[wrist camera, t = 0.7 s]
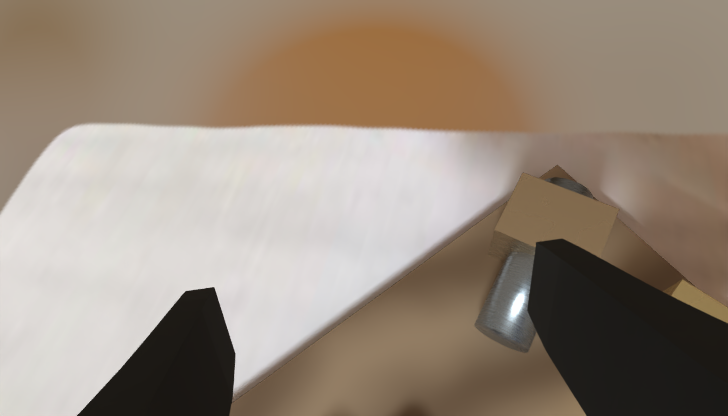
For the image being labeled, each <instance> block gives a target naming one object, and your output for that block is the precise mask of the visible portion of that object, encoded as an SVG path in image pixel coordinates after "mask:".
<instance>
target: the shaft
mask: <svg viewBox="0 0 728 416" xmlns="http://www.w3.org/2000/svg"><path fill="white" fill-rule="evenodd" d="M618 211H619V209H618V208H615V207H612V206H610V205H607V204H605V203H602V202H599V201H597V200H594V199H593V196H592V194H591V192H590V191H589V190H588V189H587V188H586V187H584V186H583V185H581V184H579V183H577V182H575V181H572V180H569V179H565V178H559V177H553V178H548V179H545V180H542V179H539V178H536V177H534V176H531V175H528V174H526V173H522V175H521V177H520V179H519V181H518V183H517V185H516V187H515V189H514V191H513V193H512V195H511V197H510V199H509V201H508V203H507V205H506V207H505V209H504V211H503V213H502V215H501V217H500V219H499V221H498V223H497V225H496V227H495V229H494V233H493V237H492V241H491V245H490V248H489V252H488V256H491V257H493V258H495V259H497V260H499V261H502V262H504V263H503V265H502V267H501V269H500V272H499V274H498V276H497V278H496V280H495V282H494V284H493V286H492V288H491V290H490V292H489V294H488V297H487V299H486V301H485V303H484V305H483V307H482V309H481V311H480V313H479V315H478V317H477V320H476V322H475V324H474V326H475V327H476V328H477V329H478V330H479V331H480V332H481V333H483V334H484V335H486V336H487V337H489V338H490V339H492V340H494V341H496V342H498V343H500V344H502V345H504V346H506V347H508V348H510V349H513V350H516V351H519V352H523V353H527V352H528V351H529V349H530V347H531V344H532V342H533V340H534V337H535V335H536V333H537V331H536V329H535V327H534V325H533V322H532V320H531V318H530V316H529V313H528V311H527V308H528V300H529V293H530V285H531V278H532V270H533V262H534V255H535V247H536V242H540V241H547V240H554V239H565V240H567V241H569V242H571V243H573V244H575V245H577V246H579V247H581V248H583V249H585V250H586V251H588V252H590V253H592V254H594V255H596V256H597V257H599V258H600V256H601V253H602V251H603V248H604V246H605V243H606V241H607V239H608V236H609V234H610V231H611V229H612V226H613V224H614V221H615V219H616V216H617V214H618Z"/></svg>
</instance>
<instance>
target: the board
mask: <svg viewBox="0 0 728 416" xmlns="http://www.w3.org/2000/svg"><path fill="white" fill-rule="evenodd" d="M553 177H559V178H565V179H569V180H572V181H575V180H574V179H573V178H572V177H571V176H570V175H568V174H567V173H566V172H565V171H564V170H563V169H562V168H560V167H559V166H558V165H556V166H555V167H554V168H552V169H551V170H549V171H548V172H547V173H545V174H544V175H543V176H541V177H540V178H539V179H542V180H545V179H548V178H553ZM575 182H576V181H575ZM593 199H594V200H597V199H596V198H594V197H593ZM597 201H598V200H597ZM507 203H508V201H507V202H506V203H504V204H503V205H502V206H500V207H499V208H498V209H496V210H495V211H494V212H492V213H491V214H489V215H488V216H487V217H485V218H484V219H483V220H481V221H480V222H479V223H477V224H476V225H474V226H473V227H472V228H470V229H469V230H468V231H466V232H465V233H464V234H462V235H461V236H459V237H458V238H457V239H455V240H454V241H453V242H451V243H450V244H449V245H447V246H446V247H444V248H443V249H442V250H440V251H439V252H438V253H436V254H435V255H434V256H432V257H431V258H429V259H428V260H427V261H425V262H424V263H423V264H421V265H420V266H419V267H417V268H416V269H414V270H413V271H412V272H410V273H409V274H408V275H406V276H405V277H404V278H402V279H401V280H399V281H398V282H397V283H395V284H394V285H393V286H391V287H390V288H389V289H387V290H386V291H384V292H383V293H382V294H380V295H379V296H378V297H376V298H375V299H374V300H372V301H371V302H369V303H368V304H367V305H365V306H364V307H363V308H361V309H360V310H359V311H357V312H356V313H354V314H353V315H352V316H350V317H349V318H348V319H346V320H345V321H344V322H342V323H341V324H339V325H338V326H337V327H335V328H334V329H333V330H331V331H330V332H329V333H327V334H326V335H324V336H323V337H322V338H320V339H319V340H318V341H316V342H315V343H314V344H312V345H311V346H309V347H308V348H307V349H305V350H304V351H303V352H301V353H300V354H299V355H297V356H296V357H294V358H293V359H292V360H290V361H289V362H288V363H286V364H285V365H284V366H282V367H281V368H279V369H278V370H277V371H275V372H274V373H273V374H271V375H270V376H268V377H267V378H266V379H264V380H263V381H262V382H260V383H259V384H258V385H256V386H255V387H253V388H252V389H251V390H249V391H248V392H247V393H245V394H244V395H243V396H241V397H240V398H238V399H237V400H236V401H234V402H233V403H232V404H231V409H230V415H229V416H586V414H585V413H584V411H583V409H582V408H581V406H580V405H579V403H578V401H577V400H576V398H575V397H574V395H573V394H572V392H571V390H570V389H569V387H568V386H567V384H566V383H565V381H564V379H563V378H562V376H561V375H560V373H559V371H558V370H557V368H556V367H555V365H554V363H553V362H552V360H551V358H550V357H549V355H548V353H547V352H546V350H545V348H544V346H543V344H542V342H541V340H540V338H539V336H538V334H537V333H536V335H535V337H534V340H533V342H532V344H531V347H530V349H529V351H528V352H527V353H523V352H519V351H516V350H513V349H510V348H508V347H506V346H504V345H502V344H500V343H498V342H496V341H494V340H492V339H490V338H489V337H487V336H486V335H484V334H483V333H481V332H480V331H479V330H478V329H477V328H476V327H475V326H474V324H475V322H476V320H477V317H478V315H479V313H480V311H481V309H482V307H483V305H484V303H485V301H486V299H487V297H488V294H489V292H490V290H491V288H492V286H493V284H494V282H495V280H496V278H497V276H498V274H499V272H500V269H501V267H502V265H503V263H504V262H502V261H499V260H497V259H495V258H493V257H491V256H488V252H489V248H490V245H491V241H492V237H493V233H494V229H495V227H496V225H497V223H498V221H499V219H500V217H501V215H502V213H503V211H504V209H505V207H506V205H507ZM600 258H601V259H603V260H605V261H607V262H608V263H610V264H612V265H614V266H616V267H618V268H619V269H621V270H623V271H625V272H627V273H629V274H630V275H632V276H634V277H636V278H638V279H640V280H642V281H643V282H645V283H647V284H649V285H651V286H653V287H655V288H657V289H659V290H661V291H662V292H663V291H664V290H666V289H668V288H669V287H671V286H672V285H674V284H676V283H677V282H679V281H681V280H682V279H683V280H685V281H686V282H688V283H689V284H691V285H693V284H692V283H690V282H689V281H688V280H687V279H686V278H685V277H684V276H683V275H681V274H680V273H679V272H678V271H677V270H676V269H675V268H673V267H672V266H671V265H670V264H669V263H668V262H667V261H666V260H664V259H663V258H662V257H661V256H660V255H659V254H658V253H657V252H655V251H654V250H653V249H652V248H651V247H650V246H649V245H648V244H646V243H645V242H644V241H643V240H642V239H641V238H640V237H638V236H637V235H636V234H635V233H634V232H633V231H632V230H631V229H629V228H628V227H627V226H626V225H625V224H624V223H623V222H622V221H620V220H619V219H618V218H617V217H616V219H615V221H614V224H613V226H612V229H611V231H610V234H609V236H608V239H607V241H606V243H605V246H604V248H603V251H602V253H601V256H600ZM693 286H694V285H693ZM694 287H695V286H694Z"/></svg>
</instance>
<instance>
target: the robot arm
mask: <svg viewBox="0 0 728 416" xmlns="http://www.w3.org/2000/svg"><path fill="white" fill-rule="evenodd" d="M527 311H528V313H529V316H530V318H531V320H532V322H533V325H534V327H535V329H536V331H537V334H538V336H539V338H540V340H541V342H542V344H543V346H544V348H545V350H546V352H547V353H548V355H549V357H550V358H551V360H552V362H553V363H554V365H555V367H556V368H557V370H558V371H559V373H560V375H561V376H562V378H563V379H564V381H565V383H566V384H567V386H568V387H569V389H570V390H571V392H572V394H573V395H574V397H575V398H576V400H577V401H578V403H579V405H580V406H581V408H582V409H583V411H584V413H585V414H586V416H728V323H727V322H724V321H722V320H720V319H718V318H716V317H713V316H711V315H709V314H707V313H705V312H703V311H701V310H699V309H697V308H695V307H693V306H691V305H688V304H686V303H684V302H682V301H680V300H678V299H676V298H674V297H672V296H670V295H668V294H666V293H664V292H662V291H661V290H659V289H657V288H655V287H653V286H651V285H649V284H647V283H645V282H643V281H642V280H640V279H638V278H636V277H634V276H632V275H630V274H629V273H627V272H625V271H623V270H621V269H619V268H618V267H616V266H614V265H612V264H610V263H608V262H607V261H605V260H603V259H601V258H599V257H597V256H596V255H594V254H592V253H590V252H588V251H586V250H585V249H583V248H581V247H579V246H577V245H575V244H573V243H571V242H569V241H567V240H565V239H554V240H547V241H540V242H536V247H535V255H534V262H533V270H532V278H531V285H530V293H529V300H528V308H527ZM234 370H235V351H234V348H233V345H232V342H231V339H230V336H229V332H228V329H227V326H226V323H225V320H224V317H223V313H222V310H221V307H220V304H219V301H218V298H217V295H216V291H215V288H214V287H212V288H205V289H198V290H191V291H185V293H184V294H183V295H182V296H181V297H180V298H179V300H178V301H177V302H176V303H175V304H174V306H173V307H172V308H171V309H170V310H169V312H168V313H167V314H166V315H165V316H164V318H163V319H162V320H161V321H160V323H159V324H158V325H157V326H156V327H155V329H154V330H153V331H152V332H151V333H150V335H149V336H148V337H147V338H146V340H145V341H144V342H143V343H142V344H141V345H140V347H139V348H138V349H137V350H136V351H135V352H134V354H133V355H132V356H131V357H130V358H129V359H128V361H127V362H126V363H125V364H124V365H123V366H122V368H121V369H120V370H119V371H118V372H117V373H116V374H115V375H114V376H113V377H112V379H111V380H110V381H109V382H108V383H107V384H106V385H105V386H104V387H103V388H102V389H101V390H100V392H99V393H98V394H97V395H96V396H95V397H94V398H93V399H92V400H91V401H90V402H89V403H88V404H87V406H86V407H85V408H84V409H83V410H82V411H81V412H80V413H79V414H78V415H77V416H229V415H230V409H231V404H232V397H233V385H234Z"/></svg>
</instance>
